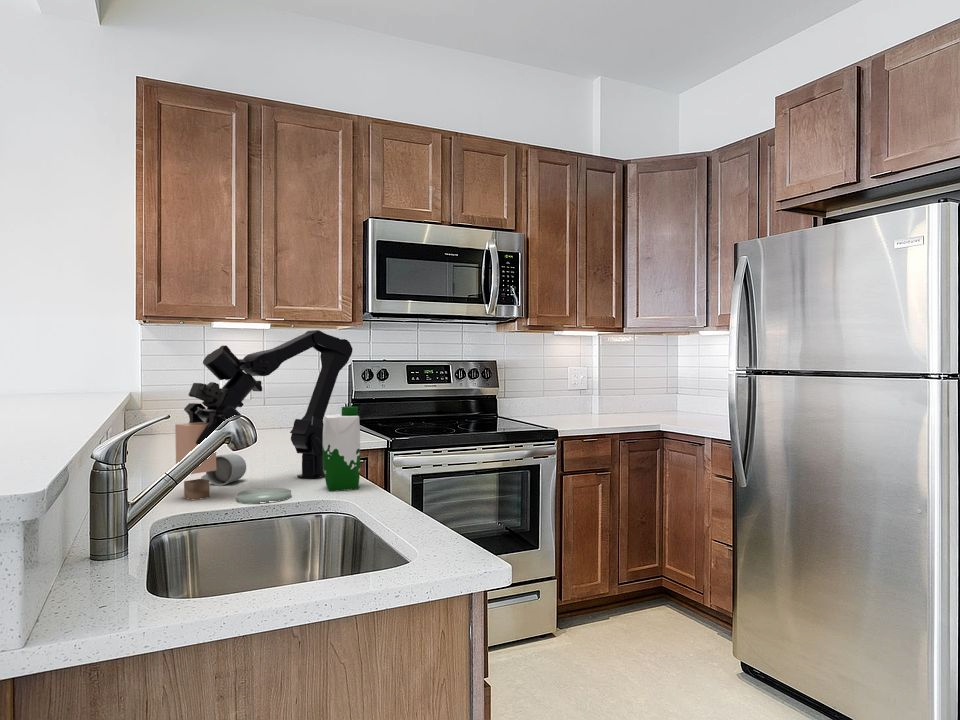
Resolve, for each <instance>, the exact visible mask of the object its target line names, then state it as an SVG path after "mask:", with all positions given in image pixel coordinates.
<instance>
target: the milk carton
mask: <svg viewBox="0 0 960 720" xmlns="http://www.w3.org/2000/svg"><path fill="white" fill-rule="evenodd" d="M359 415H360V414H359V407H358V406H356V405H355V406H353V405H352V406H341V414H339V413H335V414H325V415H324V418H323V424H324V425H323V470H324V475H325V476H324V479H325V484H326V487H327V490H328V492H335V491H336V490H339V491H348V490H347V489H352V490H359V486H360V478H361V477H360V476H361V475H360V474H361V428H360V423H361V422H360V416H359ZM336 492H337V491H336Z"/></svg>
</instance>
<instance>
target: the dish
mask: <svg viewBox="0 0 960 720" xmlns="http://www.w3.org/2000/svg"><path fill="white" fill-rule="evenodd" d="M235 497H236V500H237V501H238V502H237V501H236V500H235V501H236V502H237V503H239V502H242V503H241V504H245V503H260V502H269V501H279V500H283V499H286V500H288V499H287V498H289V497H290V498H292V490H291V489H289V488H285V487H284V488H283V487H261V488H252V489H246V490H243V491H240V492H238V493H236V495H235ZM290 498H289V499H290ZM283 501H284V500H283ZM279 502H280V501H279Z"/></svg>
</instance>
